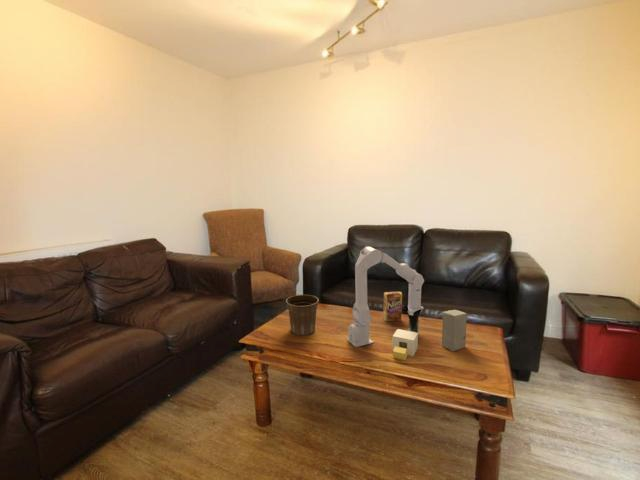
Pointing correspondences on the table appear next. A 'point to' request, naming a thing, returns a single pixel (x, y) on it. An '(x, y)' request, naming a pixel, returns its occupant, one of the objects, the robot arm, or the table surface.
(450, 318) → the skincare box
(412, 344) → the bearing block
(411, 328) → the shaft
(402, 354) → the block
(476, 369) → the table surface
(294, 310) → the plant pot
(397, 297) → the candy box
